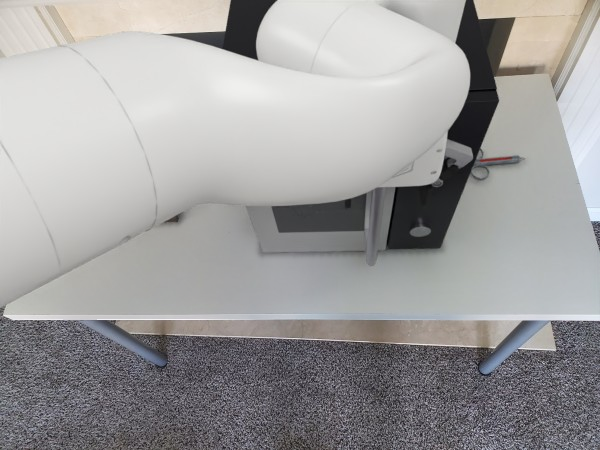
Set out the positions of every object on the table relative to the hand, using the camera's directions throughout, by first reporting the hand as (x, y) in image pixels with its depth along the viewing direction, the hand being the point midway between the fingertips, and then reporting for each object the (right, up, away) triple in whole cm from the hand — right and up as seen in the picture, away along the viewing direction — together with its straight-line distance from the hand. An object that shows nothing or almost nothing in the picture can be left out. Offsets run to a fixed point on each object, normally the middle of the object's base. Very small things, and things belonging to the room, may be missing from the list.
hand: (385, 197), depth 55 cm
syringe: (+25, +8, +30) cm, 40 cm away
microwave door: (-6, -10, +23) cm, 26 cm away
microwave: (-1, +5, +31) cm, 31 cm away
